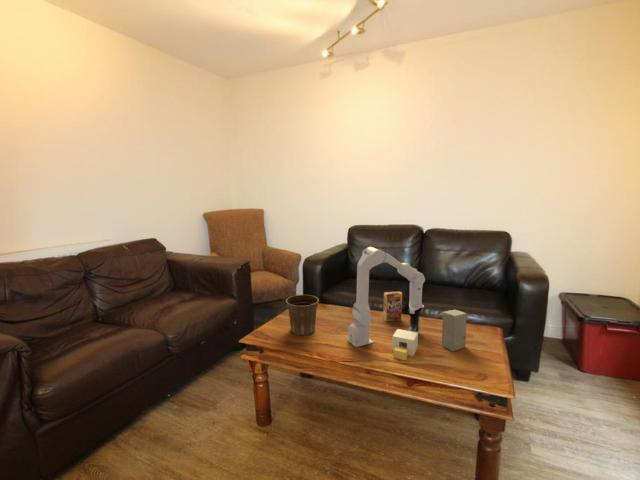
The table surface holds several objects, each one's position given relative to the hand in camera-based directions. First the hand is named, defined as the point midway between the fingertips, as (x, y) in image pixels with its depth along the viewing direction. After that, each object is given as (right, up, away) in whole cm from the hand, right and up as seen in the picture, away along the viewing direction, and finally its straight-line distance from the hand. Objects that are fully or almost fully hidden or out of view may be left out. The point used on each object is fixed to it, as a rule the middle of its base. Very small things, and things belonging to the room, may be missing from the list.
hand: (414, 322), depth 155 cm
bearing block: (-9, -8, -15) cm, 19 cm away
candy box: (-7, -3, +17) cm, 19 cm away
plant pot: (-55, -6, +6) cm, 55 cm away
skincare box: (+13, -7, -13) cm, 20 cm away
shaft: (-4, -5, -7) cm, 10 cm away
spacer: (-12, -7, -20) cm, 25 cm away
